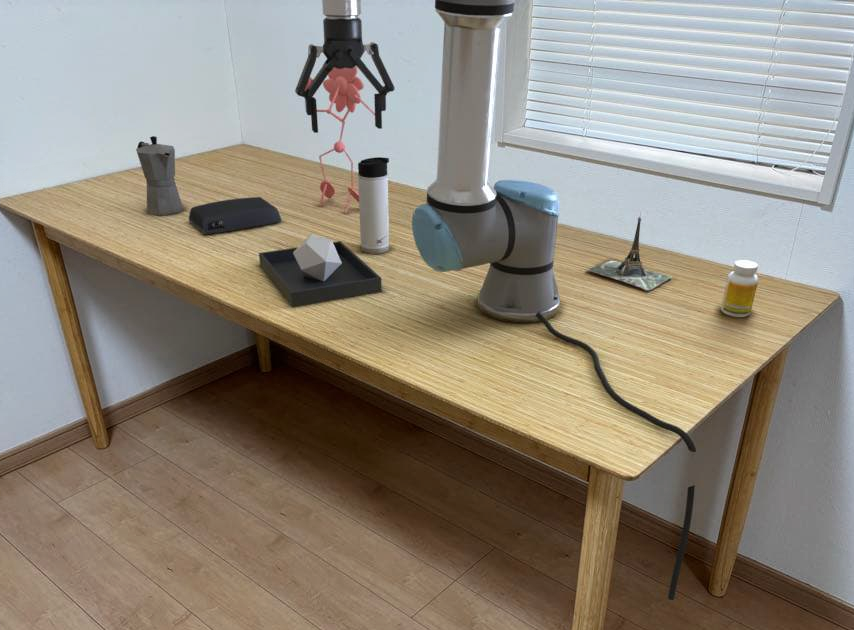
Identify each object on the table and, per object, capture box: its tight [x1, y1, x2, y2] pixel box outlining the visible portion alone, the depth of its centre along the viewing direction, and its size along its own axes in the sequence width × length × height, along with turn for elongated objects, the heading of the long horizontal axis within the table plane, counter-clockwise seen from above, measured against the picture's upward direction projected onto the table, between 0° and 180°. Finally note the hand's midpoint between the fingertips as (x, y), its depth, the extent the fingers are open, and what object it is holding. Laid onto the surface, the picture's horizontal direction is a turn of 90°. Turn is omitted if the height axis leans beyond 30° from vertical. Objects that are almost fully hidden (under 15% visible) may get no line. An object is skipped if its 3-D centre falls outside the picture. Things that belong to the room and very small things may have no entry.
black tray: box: [258, 240, 383, 308], centre depth 162 cm, size 23×18×3 cm
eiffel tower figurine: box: [587, 211, 674, 292], centre depth 162 cm, size 15×10×13 cm
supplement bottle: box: [720, 259, 759, 318], centre depth 148 cm, size 5×5×10 cm
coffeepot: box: [135, 135, 184, 216], centre depth 197 cm, size 15×9×18 cm, turn 44°
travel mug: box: [357, 156, 390, 255], centre depth 173 cm, size 6×7×20 cm
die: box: [293, 234, 342, 282], centre depth 161 cm, size 8×9×10 cm
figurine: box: [305, 66, 375, 219], centre depth 198 cm, size 15×26×35 cm, turn 50°
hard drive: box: [188, 196, 283, 235], centre depth 192 cm, size 13×19×4 cm
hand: (347, 129), depth 167 cm, fingers open, 13 cm apart
